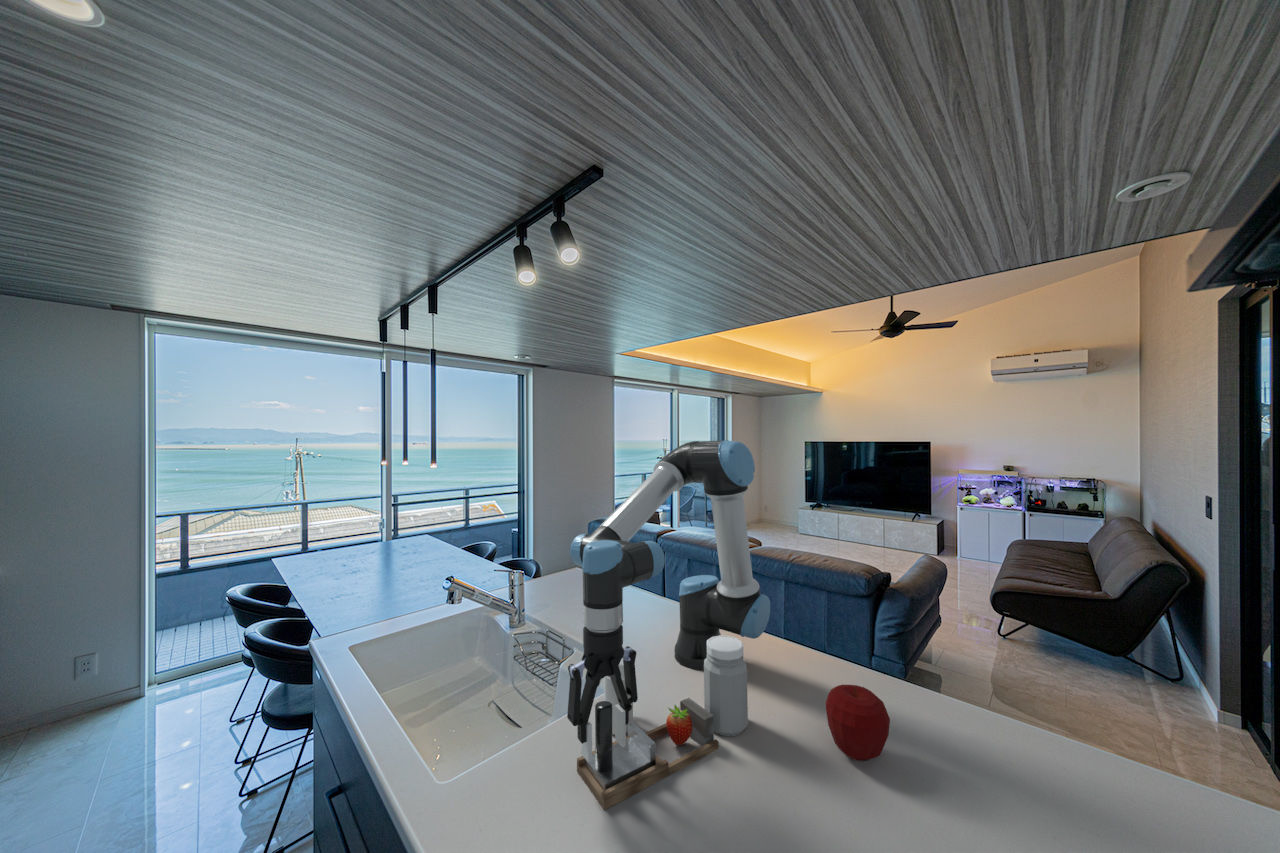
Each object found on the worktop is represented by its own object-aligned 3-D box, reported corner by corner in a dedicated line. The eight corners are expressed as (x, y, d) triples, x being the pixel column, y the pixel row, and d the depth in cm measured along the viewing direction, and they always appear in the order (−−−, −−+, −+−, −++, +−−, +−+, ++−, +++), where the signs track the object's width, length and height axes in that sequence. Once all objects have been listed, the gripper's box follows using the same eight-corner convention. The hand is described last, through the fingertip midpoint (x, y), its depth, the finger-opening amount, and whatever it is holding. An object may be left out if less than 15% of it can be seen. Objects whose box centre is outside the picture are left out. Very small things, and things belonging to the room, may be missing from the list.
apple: (864, 785, 81) (862, 711, 81) (813, 746, 91) (811, 681, 92) (904, 762, 86) (902, 693, 87) (851, 729, 97) (849, 667, 97)
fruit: (688, 735, 95) (687, 697, 95) (695, 752, 90) (694, 712, 90) (664, 738, 94) (663, 700, 94) (670, 755, 89) (669, 715, 89)
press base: (685, 721, 100) (684, 694, 100) (718, 749, 91) (718, 719, 91) (576, 771, 85) (576, 739, 85) (604, 810, 76) (604, 774, 76)
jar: (752, 717, 101) (750, 637, 102) (743, 743, 92) (741, 656, 93) (710, 707, 105) (709, 630, 106) (698, 731, 96) (697, 648, 97)
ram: (633, 742, 90) (632, 681, 91) (655, 765, 84) (654, 700, 84) (584, 764, 84) (584, 699, 85) (605, 791, 78) (604, 720, 78)
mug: (627, 739, 94) (626, 682, 95) (598, 732, 96) (598, 676, 97) (643, 712, 104) (642, 660, 104) (617, 706, 106) (616, 656, 106)
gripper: (635, 608, 92) (636, 721, 91) (547, 630, 81) (547, 759, 80) (656, 619, 86) (657, 741, 85) (563, 645, 75) (564, 785, 74)
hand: (603, 749), depth 82 cm, fingers open, 6 cm apart
